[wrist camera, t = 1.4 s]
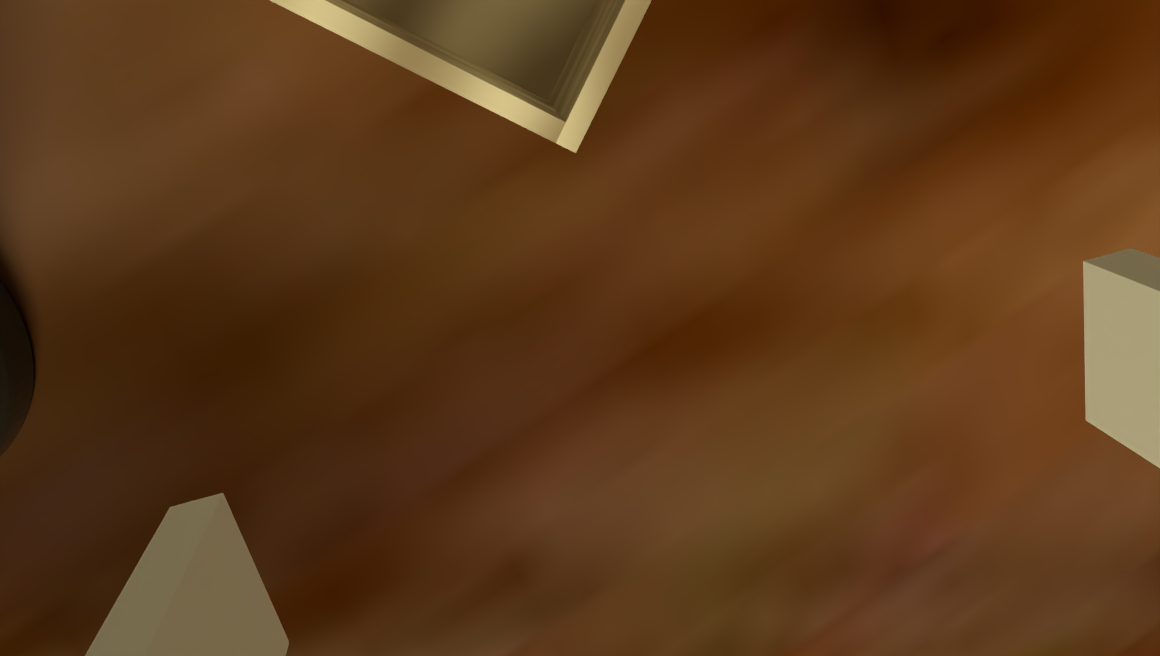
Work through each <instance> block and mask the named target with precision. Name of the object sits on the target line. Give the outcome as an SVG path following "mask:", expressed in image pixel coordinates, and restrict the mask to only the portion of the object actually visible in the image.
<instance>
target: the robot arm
mask: <svg viewBox="0 0 1160 656" xmlns="http://www.w3.org/2000/svg"><path fill="white" fill-rule="evenodd" d="M1083 273H1084V338H1085V404H1086V421H1088V422H1089V423H1091V424H1092V425H1094V426H1095V427H1097V428H1098V429H1100V430H1102V431H1103V432H1105V433H1106V434H1108V435H1109V436H1111V437H1112V438H1114V439H1115V440H1117V441H1119V442H1120V443H1122V444H1123V445H1125V446H1126V447H1128V448H1129V449H1131V450H1132V451H1134V452H1136V453H1137V454H1139V455H1140V456H1142V457H1143V458H1145V459H1146V460H1148V461H1149V462H1151V463H1153V464H1154V465H1156V466H1157V467H1159V468H1160V258H1158V257H1155V256H1152V255H1149V254H1146V253H1143V252H1140V251H1138V250H1135V249H1132V248H1130V249H1126V250H1123V251H1119V252H1115V253H1111V254H1108V255H1104V256H1100V257H1097V258H1093V259H1089V260H1085V261H1083ZM33 383H34V366H33V356H32V350H31V345H30V341H29V337H28V334H27V331H26V328H25V325H24V323H23V320H22V318H21V315H20V313H19V311H18V309H17V307H16V305H15V303H14V301H13V300H12V298H11V296H10V295H9V293H8V291H7V290H6V289H5V287H4V286H3V284H2V283H1V281H0V456H1V455H2V454H3V453H4V452H5V451H6V449H7V448H8V447H9V446H10V444H11V443H12V442H13V440H14V439H15V437H16V436H17V434H18V433H19V431H20V429H21V427H22V425H23V423H24V420H25V418H26V416H27V413H28V410H29V406H30V403H31V398H32V393H33ZM288 644H289V641H288V639H287V636H286V634H285V632H284V630H283V627H282V625H281V623H280V621H279V618H278V616H277V614H276V612H275V609H274V607H273V605H272V603H271V600H270V598H269V596H268V594H267V591H266V589H265V587H264V585H263V582H262V580H261V578H260V575H259V573H258V571H257V569H256V566H255V564H254V562H253V560H252V557H251V555H250V553H249V551H248V548H247V546H246V544H245V542H244V539H243V537H242V535H241V533H240V530H239V528H238V526H237V524H236V521H235V519H234V517H233V515H232V512H231V510H230V508H229V506H228V503H227V501H226V499H225V497H224V494H223V493H221V494H217V495H213V496H210V497H206V498H202V499H199V500H195V501H191V502H187V503H184V504H180V505H176V506H173V507H170V508H169V510H168V512H167V513H166V515H165V517H164V519H163V520H162V522H161V524H160V526H159V527H158V529H157V531H156V533H155V534H154V536H153V538H152V540H151V541H150V543H149V545H148V547H147V548H146V550H145V552H144V554H143V555H142V557H141V559H140V561H139V562H138V564H137V566H136V568H135V569H134V571H133V573H132V575H131V576H130V578H129V580H128V582H127V583H126V585H125V587H124V589H123V590H122V592H121V594H120V596H119V597H118V599H117V601H116V603H115V604H114V606H113V608H112V610H111V611H110V613H109V615H108V616H107V618H106V620H105V622H104V623H103V625H102V627H101V629H100V630H99V632H98V634H97V636H96V637H95V639H94V641H93V643H92V644H91V646H90V648H89V650H88V651H87V653H86V655H85V656H286V652H287V648H288Z"/></svg>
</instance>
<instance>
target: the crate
mask: <svg viewBox="0 0 1160 656" xmlns="http://www.w3.org/2000/svg"><path fill="white" fill-rule="evenodd" d="M270 1H272V2H274V3H276V4H278V5H280V6H282V7H284V8H286V9H288V10H290V11H292V12H294V13H296V14H298V15H300V16H302V17H304V18H306V19H308V20H310V21H312V22H314V23H316V24H318V25H320V26H322V27H324V28H326V29H328V30H330V31H332V32H334V33H336V34H338V35H340V36H342V37H344V38H346V39H348V40H350V41H352V42H354V43H356V44H358V45H360V46H362V47H364V48H366V49H368V50H370V51H372V52H374V53H376V54H378V55H380V56H382V57H384V58H386V59H388V60H390V61H392V62H394V63H396V64H398V65H400V66H402V67H404V68H406V69H408V70H410V71H412V72H414V73H416V74H418V75H420V76H422V77H424V78H426V79H428V80H430V81H432V82H434V83H436V84H438V85H440V86H442V87H444V88H446V89H448V90H450V91H452V92H454V93H456V94H458V95H460V96H462V97H465V98H467V99H469V100H471V101H473V102H475V103H477V104H479V105H481V106H483V107H485V108H487V109H489V110H491V111H493V112H495V113H497V114H499V115H501V116H503V117H505V118H507V119H509V120H511V121H513V122H515V123H517V124H519V125H521V126H523V127H525V128H527V129H529V130H531V131H533V132H535V133H537V134H539V135H541V136H543V137H545V138H547V139H549V140H551V141H553V142H555V143H557V144H559V145H561V146H563V147H565V148H567V149H569V150H571V151H573V152H575V153H576V152H577V150H578V148H579V146H580V144H581V141H582V139H583V137H584V135H585V133H586V131H587V129H588V127H589V125H590V123H591V121H592V119H593V117H594V115H595V113H596V111H597V109H598V107H599V105H600V103H601V101H602V99H603V97H604V95H605V93H606V91H607V89H608V87H609V85H610V83H611V81H612V79H613V77H614V75H615V73H616V71H617V69H618V67H619V65H620V63H621V61H622V59H623V57H624V55H625V53H626V51H627V49H628V47H629V45H630V43H631V41H632V39H633V37H634V35H635V33H636V30H637V28H638V26H639V24H640V22H641V20H642V18H643V16H644V14H645V12H646V10H647V8H648V6H649V4H650V2H651V0H270Z"/></svg>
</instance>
